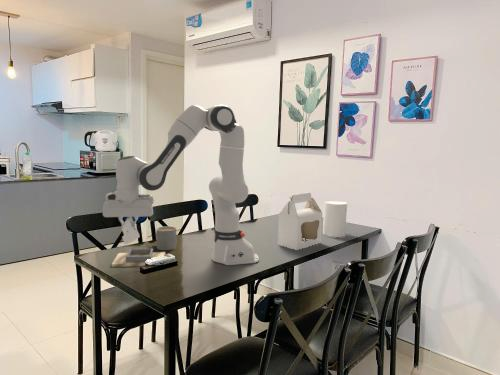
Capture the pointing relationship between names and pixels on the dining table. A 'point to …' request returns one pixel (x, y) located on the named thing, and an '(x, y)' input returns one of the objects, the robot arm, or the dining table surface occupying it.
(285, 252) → the dining table surface
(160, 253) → the mounting board
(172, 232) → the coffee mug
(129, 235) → the white wedge bracket
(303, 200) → the gable box
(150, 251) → the back box
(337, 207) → the canister
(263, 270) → the dining table surface
